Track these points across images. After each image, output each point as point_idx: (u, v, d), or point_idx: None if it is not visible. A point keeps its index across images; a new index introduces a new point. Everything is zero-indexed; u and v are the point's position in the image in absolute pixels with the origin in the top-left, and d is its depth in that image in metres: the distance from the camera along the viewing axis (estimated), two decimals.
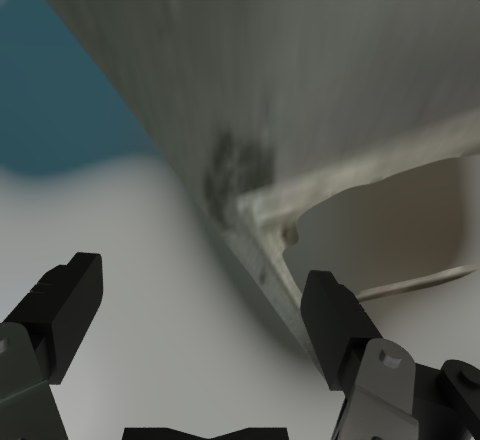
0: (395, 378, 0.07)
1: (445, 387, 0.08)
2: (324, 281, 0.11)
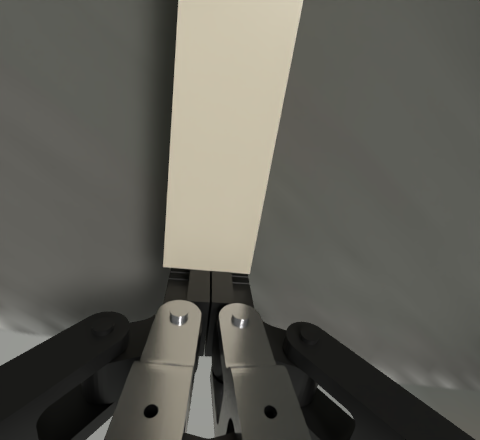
0: (232, 335, 0.08)
1: (294, 357, 0.08)
2: None
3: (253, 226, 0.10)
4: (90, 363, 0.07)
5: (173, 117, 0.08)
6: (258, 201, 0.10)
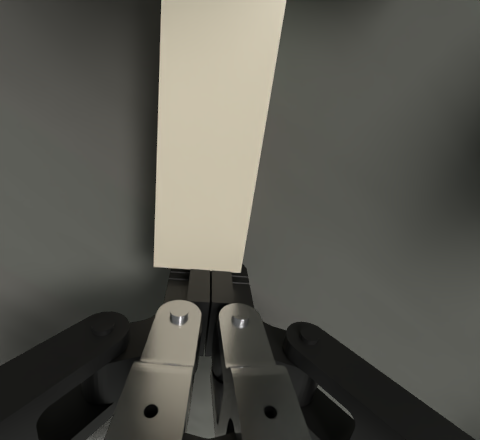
0: (232, 335, 0.08)
1: (295, 357, 0.08)
2: None
3: (243, 225, 0.10)
4: (90, 363, 0.07)
5: (159, 116, 0.08)
6: (247, 200, 0.10)
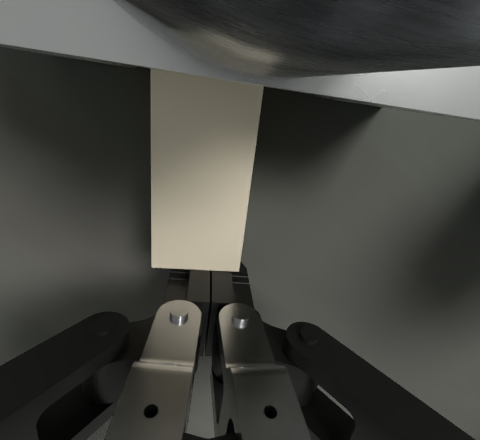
0: (232, 335, 0.08)
1: (294, 357, 0.08)
2: None
3: (240, 223, 0.10)
4: (90, 364, 0.07)
5: (152, 116, 0.08)
6: (243, 198, 0.09)
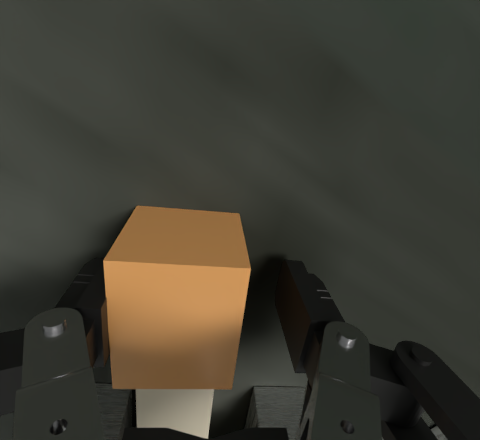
0: (347, 356, 0.08)
1: (399, 370, 0.08)
2: (294, 270, 0.11)
3: None
4: None
5: None
6: None
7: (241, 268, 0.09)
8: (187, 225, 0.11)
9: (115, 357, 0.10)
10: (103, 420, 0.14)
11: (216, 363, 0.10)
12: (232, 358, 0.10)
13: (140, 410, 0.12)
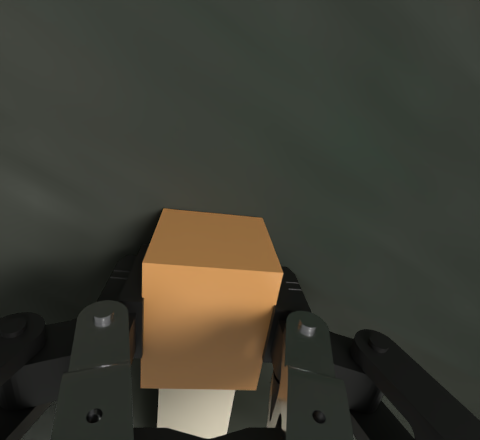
0: (305, 343, 0.08)
1: (360, 360, 0.08)
2: None
3: None
4: (6, 366, 0.06)
5: None
6: None
7: (275, 271, 0.09)
8: (215, 229, 0.11)
9: (145, 357, 0.10)
10: None
11: (243, 364, 0.10)
12: (259, 359, 0.10)
13: (162, 409, 0.12)
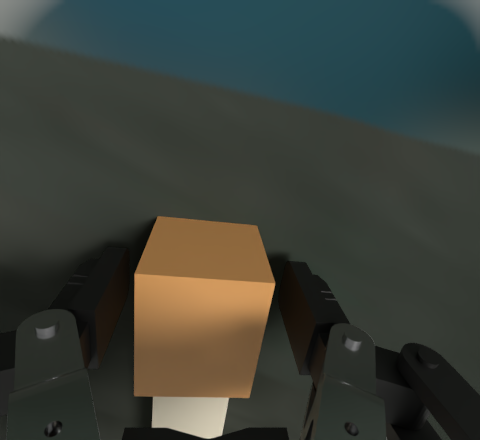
0: (353, 359, 0.08)
1: (405, 372, 0.08)
2: (298, 271, 0.11)
3: None
4: None
5: None
6: None
7: (266, 282, 0.09)
8: (209, 237, 0.11)
9: (139, 366, 0.10)
10: None
11: (236, 373, 0.10)
12: (251, 368, 0.10)
13: (156, 415, 0.12)
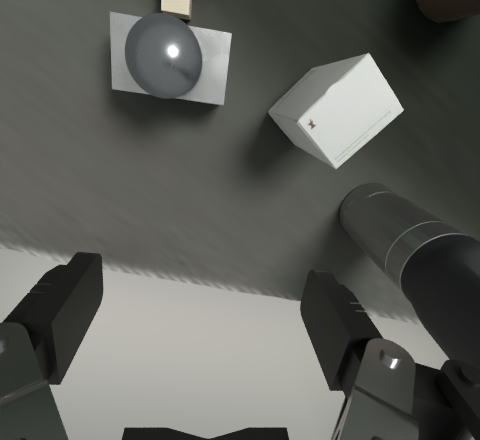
0: (395, 378, 0.07)
1: (445, 387, 0.08)
2: (324, 281, 0.11)
3: None
4: None
5: None
6: None
7: None
8: None
9: None
10: None
11: None
12: None
13: None
